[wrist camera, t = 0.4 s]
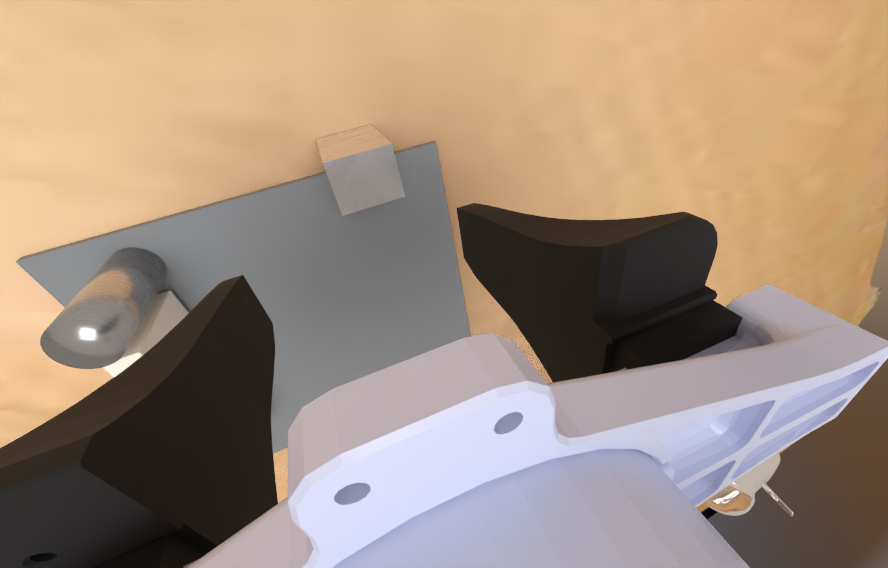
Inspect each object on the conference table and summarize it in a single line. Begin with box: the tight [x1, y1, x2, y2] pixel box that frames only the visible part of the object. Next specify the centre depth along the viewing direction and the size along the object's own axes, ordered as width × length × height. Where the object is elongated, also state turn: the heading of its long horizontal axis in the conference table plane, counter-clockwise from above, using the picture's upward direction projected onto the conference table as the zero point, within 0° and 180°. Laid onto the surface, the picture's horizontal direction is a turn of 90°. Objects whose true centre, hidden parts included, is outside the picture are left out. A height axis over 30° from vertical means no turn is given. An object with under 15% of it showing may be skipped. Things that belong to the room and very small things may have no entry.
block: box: [103, 290, 188, 377], centre depth 20 cm, size 11×2×5 cm, turn 11°
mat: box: [16, 141, 471, 453], centre depth 24 cm, size 20×21×1 cm
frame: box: [40, 125, 405, 369], centre depth 16 cm, size 3×15×6 cm, turn 111°
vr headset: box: [704, 453, 793, 516], centre depth 65 cm, size 18×11×14 cm, turn 23°
